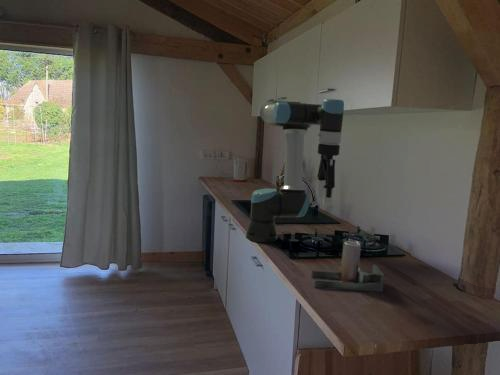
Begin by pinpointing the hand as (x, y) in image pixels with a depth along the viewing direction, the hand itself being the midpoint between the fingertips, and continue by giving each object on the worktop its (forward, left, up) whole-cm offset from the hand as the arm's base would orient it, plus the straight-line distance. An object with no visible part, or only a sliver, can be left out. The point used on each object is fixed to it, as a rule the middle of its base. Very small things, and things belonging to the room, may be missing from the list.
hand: (323, 201), depth 147 cm
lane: (+10, +8, -27) cm, 30 cm away
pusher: (+10, +14, -27) cm, 32 cm away
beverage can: (+10, +10, -27) cm, 31 cm away
